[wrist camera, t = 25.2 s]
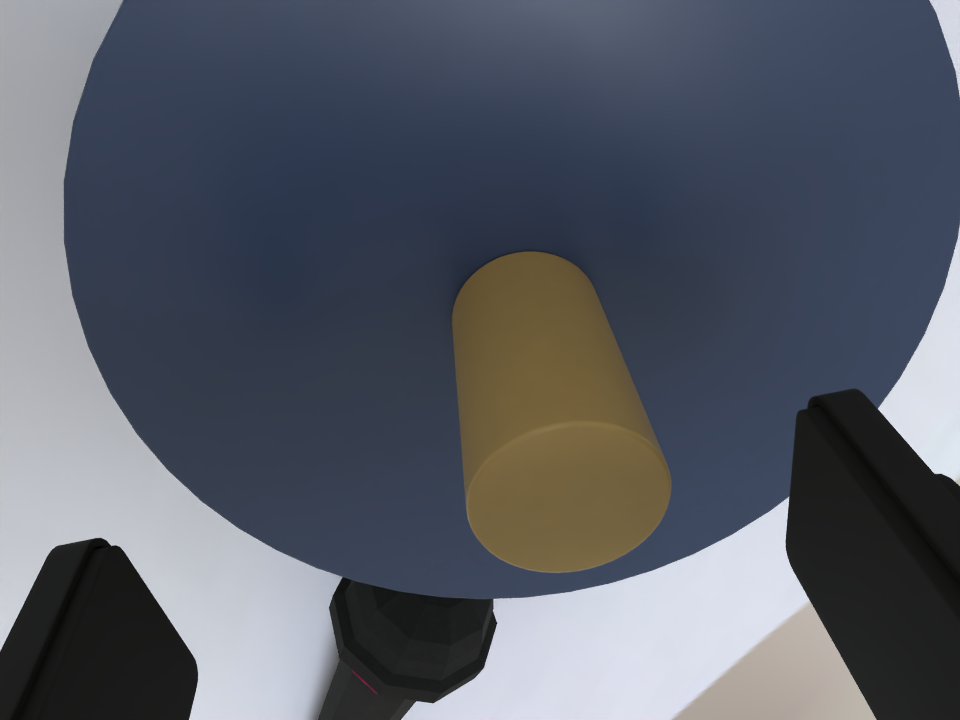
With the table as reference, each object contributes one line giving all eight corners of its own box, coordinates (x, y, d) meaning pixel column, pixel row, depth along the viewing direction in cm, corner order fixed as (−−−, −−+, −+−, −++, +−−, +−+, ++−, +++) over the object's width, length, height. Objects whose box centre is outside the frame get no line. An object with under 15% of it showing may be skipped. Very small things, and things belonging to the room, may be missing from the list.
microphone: (351, 727, 39) (487, 490, 27) (376, 850, 35) (547, 641, 23) (242, 748, 36) (339, 498, 24) (257, 885, 33) (380, 669, 21)
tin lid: (259, 610, 20) (206, 864, 15) (-116, -97, 11) (-578, -58, 6) (874, 505, 19) (1034, 733, 14) (1023, -336, 10) (1609, -524, 5)
